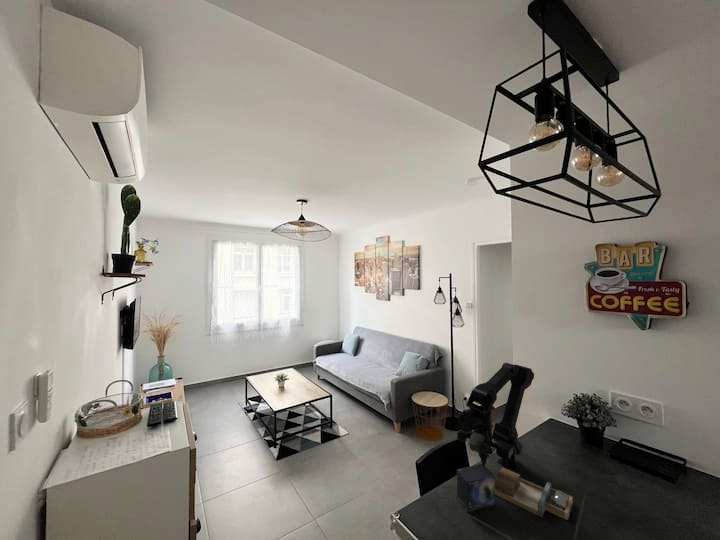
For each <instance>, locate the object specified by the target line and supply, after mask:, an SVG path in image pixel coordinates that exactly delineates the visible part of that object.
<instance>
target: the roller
mask: <svg viewBox="0 0 720 540" xmlns="http://www.w3.org/2000/svg"><path fill="white" fill-rule="evenodd" d="M556 490H557V491H556V492H555V494H554V497H553V501H552V505H554V506H556V507H558V508H560V509H562V510H565V509H566V506H567V502H568V497H567V495H568V494H567V493H565V492H563V491H562V490H558V489H556ZM566 494H567V495H566Z"/></svg>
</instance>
